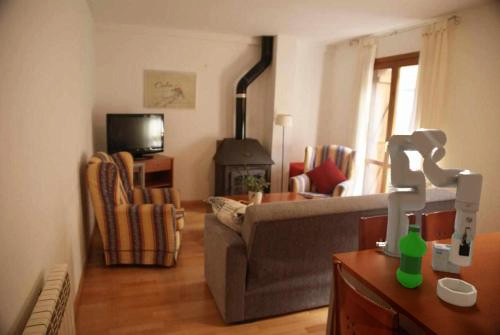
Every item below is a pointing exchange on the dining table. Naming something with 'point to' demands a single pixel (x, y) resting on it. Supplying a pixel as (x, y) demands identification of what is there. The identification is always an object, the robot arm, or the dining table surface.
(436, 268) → the light bulb box
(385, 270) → the dining table surface
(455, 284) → the white octagonal bowl
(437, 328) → the dining table surface
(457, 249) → the can
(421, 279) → the plastic bottle
